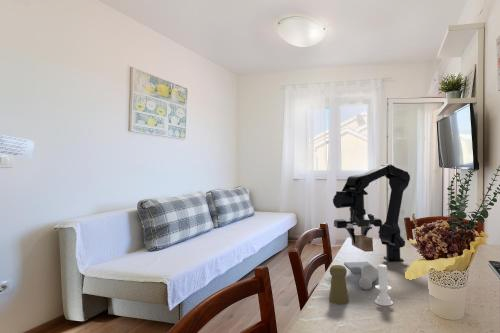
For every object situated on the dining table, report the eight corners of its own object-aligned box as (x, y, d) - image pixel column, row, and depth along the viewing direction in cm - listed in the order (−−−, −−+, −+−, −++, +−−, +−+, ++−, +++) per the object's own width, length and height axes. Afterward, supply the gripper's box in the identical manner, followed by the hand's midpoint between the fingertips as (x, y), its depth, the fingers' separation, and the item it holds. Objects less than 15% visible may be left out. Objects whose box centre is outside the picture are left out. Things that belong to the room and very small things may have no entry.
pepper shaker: (345, 305, 110) (344, 269, 110) (326, 302, 113) (325, 266, 113) (351, 299, 115) (350, 264, 115) (333, 296, 118) (331, 262, 118)
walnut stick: (351, 244, 155) (351, 233, 155) (359, 244, 155) (358, 232, 155) (365, 251, 139) (364, 238, 139) (373, 251, 139) (372, 238, 139)
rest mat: (344, 263, 156) (344, 262, 156) (367, 263, 156) (367, 261, 156) (354, 273, 142) (353, 272, 142) (379, 272, 142) (379, 271, 142)
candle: (386, 307, 108) (385, 266, 108) (371, 302, 112) (369, 263, 112) (396, 302, 111) (395, 263, 111) (381, 298, 115) (380, 260, 115)
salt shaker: (380, 277, 133) (376, 292, 121) (364, 279, 135) (358, 293, 124) (376, 262, 133) (371, 275, 121) (360, 264, 136) (354, 277, 124)
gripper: (340, 209, 143) (341, 249, 143) (387, 207, 143) (388, 247, 144) (332, 206, 154) (334, 243, 154) (376, 204, 155) (377, 241, 155)
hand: (358, 243), depth 151 cm, fingers closed on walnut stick, 3 cm apart
